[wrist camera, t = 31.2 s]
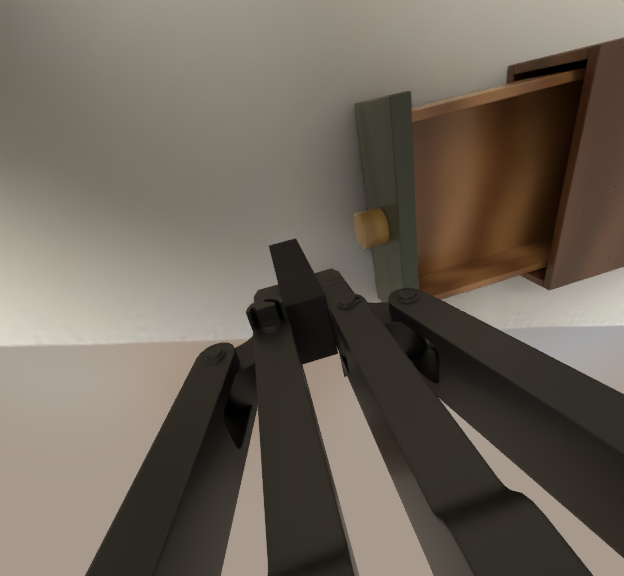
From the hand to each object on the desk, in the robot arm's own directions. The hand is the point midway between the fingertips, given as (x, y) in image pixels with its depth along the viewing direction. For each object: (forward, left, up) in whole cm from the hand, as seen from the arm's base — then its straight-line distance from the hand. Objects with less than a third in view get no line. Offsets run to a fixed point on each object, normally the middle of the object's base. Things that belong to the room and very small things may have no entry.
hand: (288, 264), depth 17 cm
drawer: (0, +13, -3) cm, 14 cm away
